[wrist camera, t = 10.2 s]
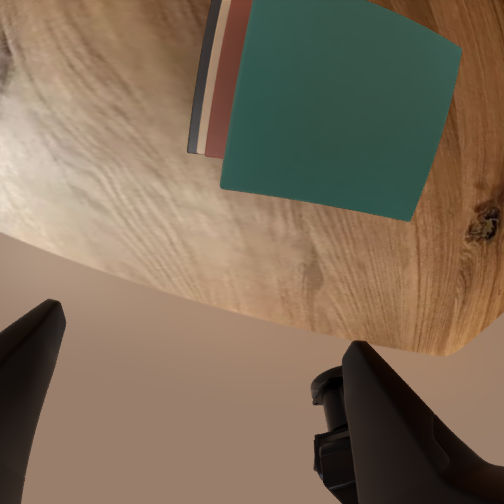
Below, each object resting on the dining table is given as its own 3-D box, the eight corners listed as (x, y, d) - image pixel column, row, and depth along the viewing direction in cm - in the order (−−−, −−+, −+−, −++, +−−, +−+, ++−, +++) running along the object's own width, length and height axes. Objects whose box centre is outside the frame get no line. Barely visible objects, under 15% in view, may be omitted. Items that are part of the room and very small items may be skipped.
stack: (335, 166, 19) (377, 216, 13) (192, 142, 17) (169, 183, 12) (367, 35, 14) (430, 27, 8) (216, 1, 13) (203, -37, 7)
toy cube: (352, 163, 11) (410, 223, 7) (226, 140, 11) (219, 190, 7) (381, 48, 9) (464, 48, 5) (250, 12, 8) (259, -30, 4)
